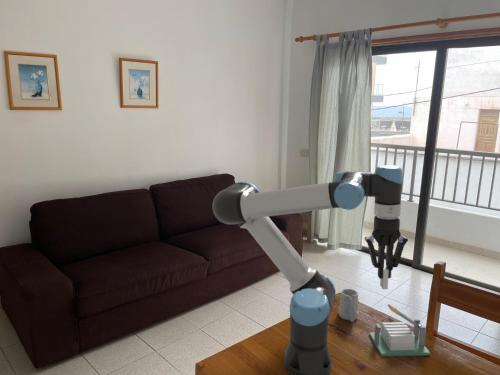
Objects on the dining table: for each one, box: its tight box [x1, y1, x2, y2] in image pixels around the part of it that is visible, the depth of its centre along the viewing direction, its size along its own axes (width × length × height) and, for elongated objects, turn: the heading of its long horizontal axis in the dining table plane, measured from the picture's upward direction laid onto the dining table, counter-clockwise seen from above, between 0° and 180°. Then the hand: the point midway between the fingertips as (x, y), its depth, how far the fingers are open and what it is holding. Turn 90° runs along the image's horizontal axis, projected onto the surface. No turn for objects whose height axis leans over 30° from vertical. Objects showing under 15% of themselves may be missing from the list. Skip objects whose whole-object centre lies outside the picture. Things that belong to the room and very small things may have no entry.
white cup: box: [338, 288, 360, 323], centre depth 147 cm, size 8×12×12 cm, turn 179°
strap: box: [387, 303, 423, 331], centre depth 130 cm, size 14×3×2 cm
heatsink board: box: [368, 318, 431, 357], centre depth 131 cm, size 16×12×8 cm
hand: (383, 287), depth 122 cm, fingers closed
